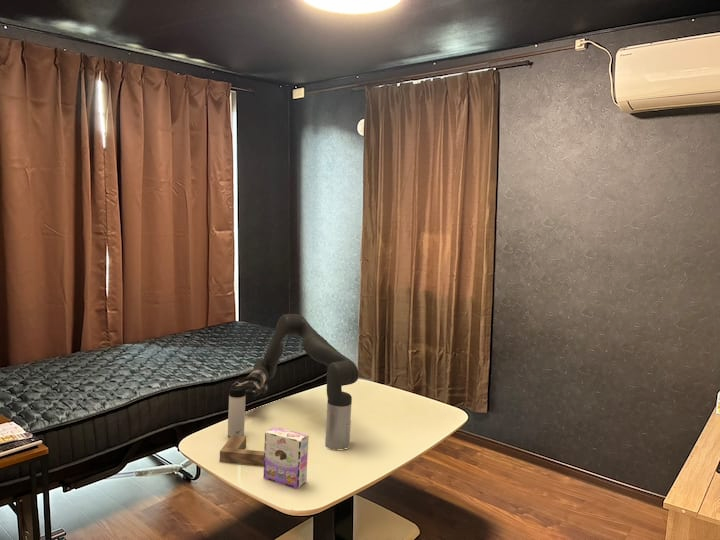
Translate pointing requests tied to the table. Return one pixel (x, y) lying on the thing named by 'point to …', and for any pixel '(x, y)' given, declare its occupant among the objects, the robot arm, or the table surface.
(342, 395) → the robot arm
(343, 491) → the table surface
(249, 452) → the wooden u-shaped block
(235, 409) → the travel mug
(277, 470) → the candy box
